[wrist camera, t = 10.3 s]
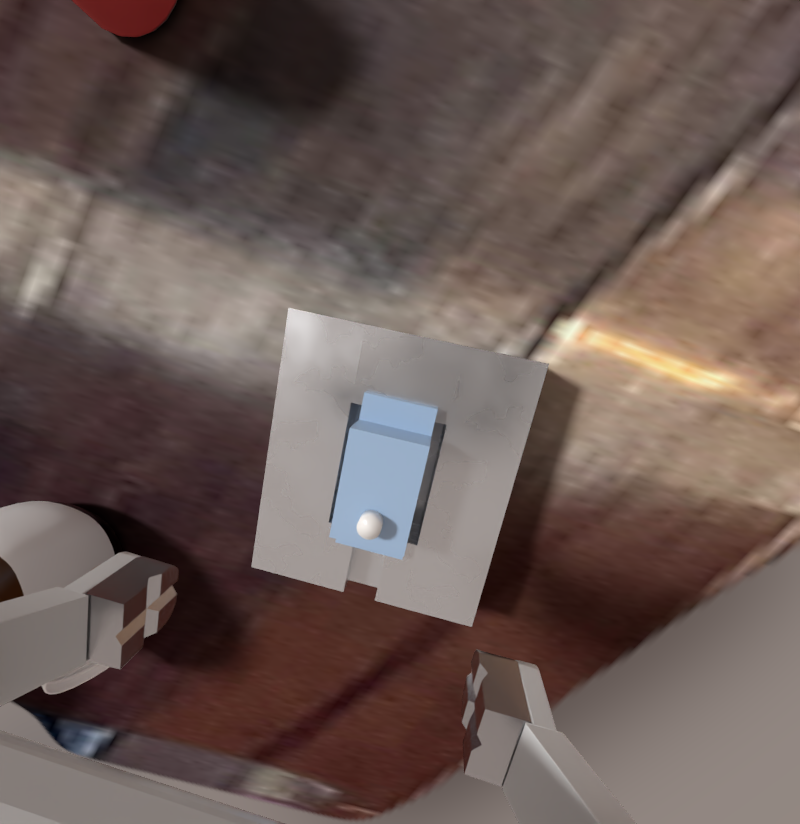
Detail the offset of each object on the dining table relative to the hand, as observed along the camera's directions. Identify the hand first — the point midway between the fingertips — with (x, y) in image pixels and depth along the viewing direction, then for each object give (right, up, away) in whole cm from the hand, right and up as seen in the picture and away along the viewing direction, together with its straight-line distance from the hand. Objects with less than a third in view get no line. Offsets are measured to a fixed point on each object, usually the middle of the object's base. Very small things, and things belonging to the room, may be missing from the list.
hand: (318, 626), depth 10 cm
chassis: (+2, +3, +14) cm, 15 cm away
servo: (+2, +2, +14) cm, 14 cm away
